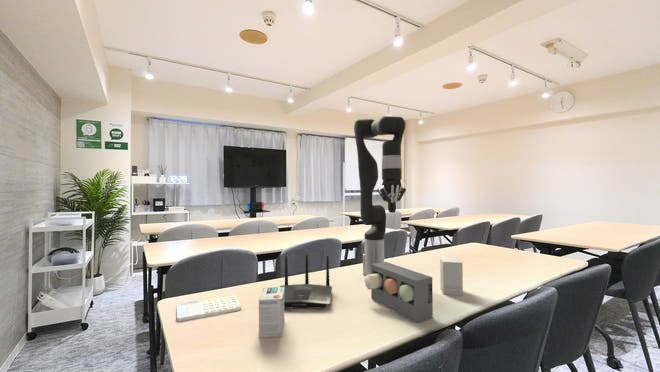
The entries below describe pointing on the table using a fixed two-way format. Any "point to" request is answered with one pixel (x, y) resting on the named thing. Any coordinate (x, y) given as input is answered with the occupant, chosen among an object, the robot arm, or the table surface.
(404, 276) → the button panel
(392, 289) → the terracotta button
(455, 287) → the supplement box
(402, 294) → the sage button
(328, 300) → the router
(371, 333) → the table surface
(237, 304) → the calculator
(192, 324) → the table surface
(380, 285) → the cream button
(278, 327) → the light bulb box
